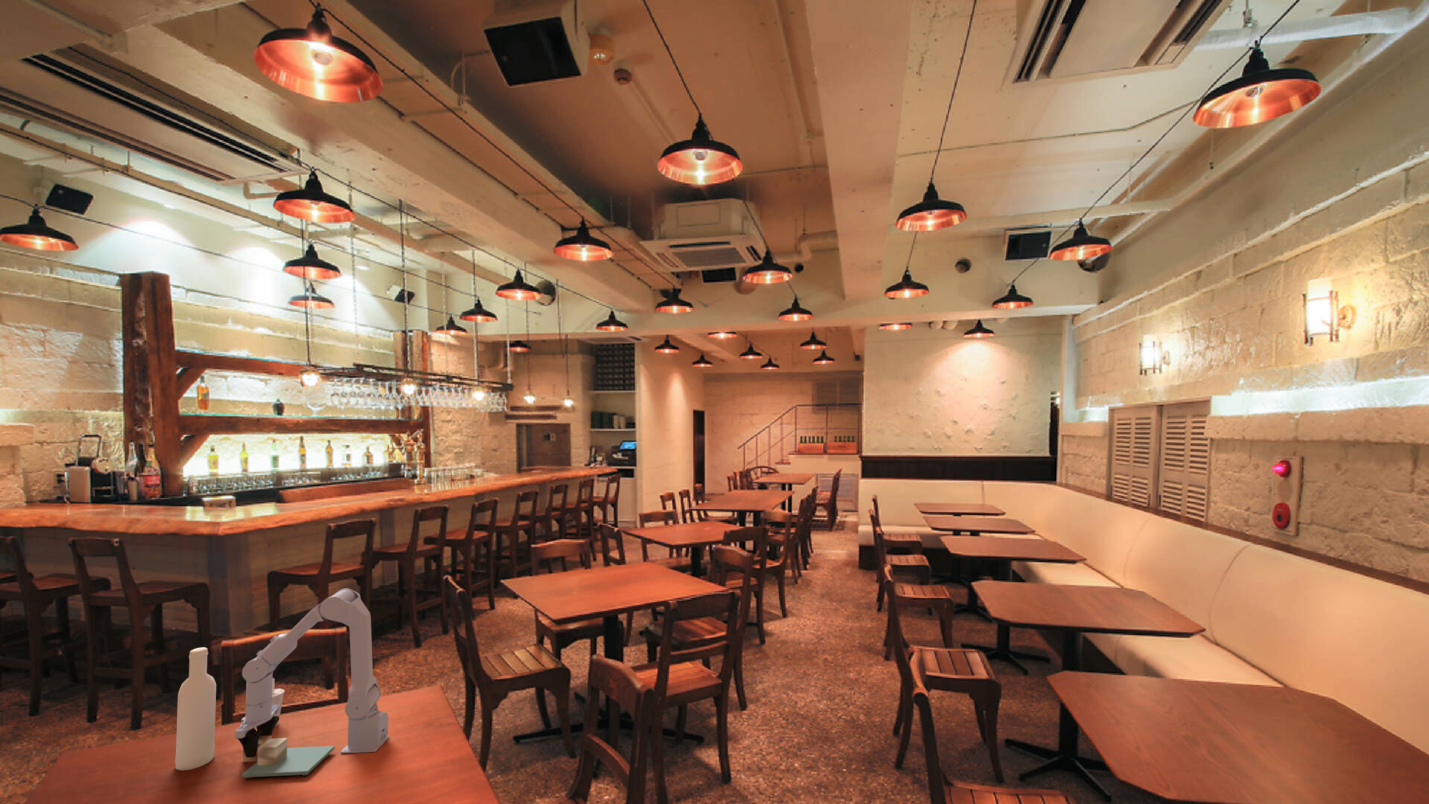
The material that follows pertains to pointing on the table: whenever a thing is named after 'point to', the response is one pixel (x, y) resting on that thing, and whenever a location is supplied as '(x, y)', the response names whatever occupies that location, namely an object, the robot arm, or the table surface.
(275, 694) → the smoothie
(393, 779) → the table surface
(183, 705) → the bottle
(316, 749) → the teal board
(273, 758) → the cream block
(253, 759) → the brown block
